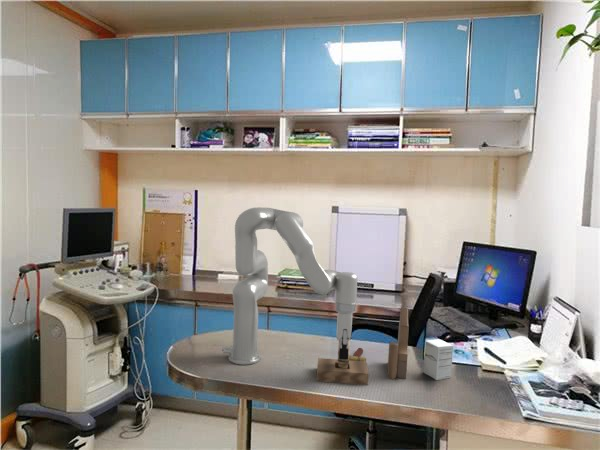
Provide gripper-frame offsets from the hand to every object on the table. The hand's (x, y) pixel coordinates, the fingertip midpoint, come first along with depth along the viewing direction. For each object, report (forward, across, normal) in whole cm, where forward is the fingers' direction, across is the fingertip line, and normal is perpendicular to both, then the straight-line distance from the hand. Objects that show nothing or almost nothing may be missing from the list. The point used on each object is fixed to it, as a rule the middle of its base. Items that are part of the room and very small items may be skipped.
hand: (343, 356), depth 151 cm
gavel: (+8, -18, +6) cm, 21 cm away
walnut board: (+8, 0, 0) cm, 8 cm away
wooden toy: (+8, -9, +21) cm, 24 cm away
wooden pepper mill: (+4, 0, 0) cm, 4 cm away
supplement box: (+8, -8, +36) cm, 37 cm away
